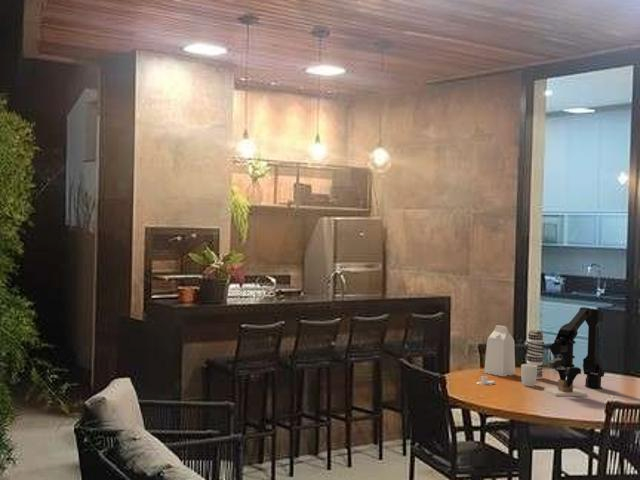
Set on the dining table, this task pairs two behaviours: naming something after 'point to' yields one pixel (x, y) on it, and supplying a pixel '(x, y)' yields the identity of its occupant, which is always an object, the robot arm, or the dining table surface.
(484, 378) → the teacup and saucer
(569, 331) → the robot arm
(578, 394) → the plate
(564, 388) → the walnut block
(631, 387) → the dining table surface
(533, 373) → the white cup
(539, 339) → the decorative candle
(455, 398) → the dining table surface
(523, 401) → the dining table surface
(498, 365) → the milk
